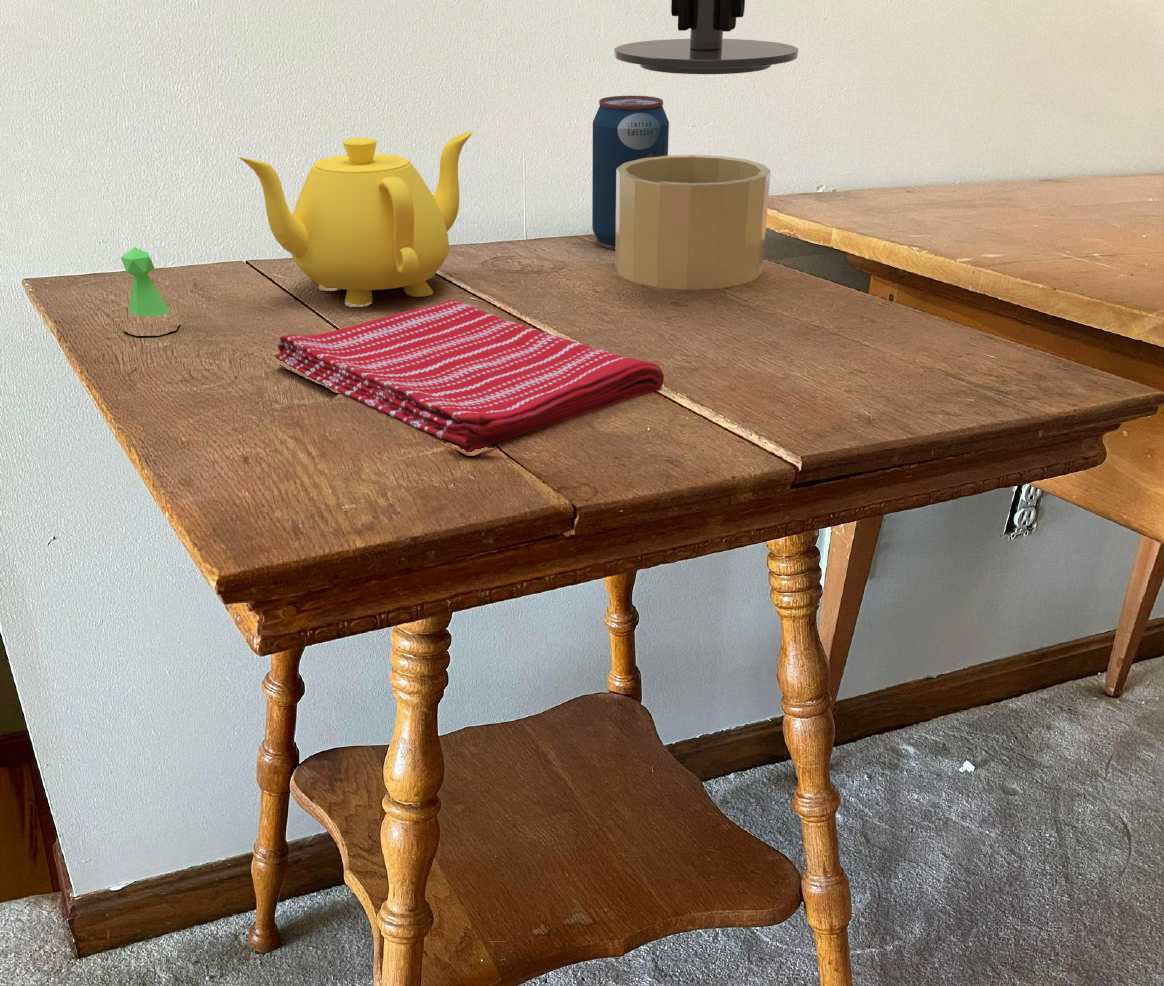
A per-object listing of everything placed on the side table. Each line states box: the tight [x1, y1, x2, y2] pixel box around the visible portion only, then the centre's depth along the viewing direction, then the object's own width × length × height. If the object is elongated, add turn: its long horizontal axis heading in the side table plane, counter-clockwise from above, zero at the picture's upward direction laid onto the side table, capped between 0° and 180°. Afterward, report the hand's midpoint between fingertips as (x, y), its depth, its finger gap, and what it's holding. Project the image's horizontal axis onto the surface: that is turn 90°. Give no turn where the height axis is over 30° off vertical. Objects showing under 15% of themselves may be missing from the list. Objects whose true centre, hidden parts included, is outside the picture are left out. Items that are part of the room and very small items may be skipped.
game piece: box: [120, 247, 170, 316], centre depth 91 cm, size 4×4×6 cm
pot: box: [614, 154, 771, 291], centre depth 102 cm, size 13×13×8 cm
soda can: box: [591, 95, 670, 250], centre depth 110 cm, size 7×7×12 cm
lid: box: [613, 0, 799, 75], centre depth 87 cm, size 14×14×7 cm
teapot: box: [238, 130, 473, 305], centre depth 97 cm, size 20×15×12 cm
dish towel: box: [274, 299, 665, 452], centre depth 82 cm, size 17×24×3 cm
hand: (707, 26), depth 88 cm, fingers closed on lid, 2 cm apart
